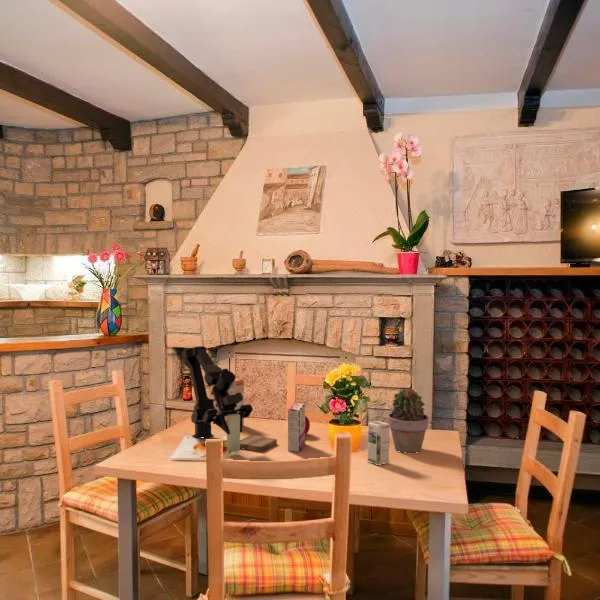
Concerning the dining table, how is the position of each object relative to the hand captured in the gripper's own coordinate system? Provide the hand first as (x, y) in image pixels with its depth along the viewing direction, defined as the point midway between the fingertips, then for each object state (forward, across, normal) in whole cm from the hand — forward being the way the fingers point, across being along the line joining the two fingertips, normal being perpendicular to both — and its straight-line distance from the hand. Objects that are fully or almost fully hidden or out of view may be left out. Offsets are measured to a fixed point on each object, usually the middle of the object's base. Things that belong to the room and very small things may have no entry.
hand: (235, 432), depth 206 cm
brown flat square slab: (+1, +13, +11) cm, 17 cm away
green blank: (+4, 0, +6) cm, 7 cm away
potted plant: (+26, +61, -13) cm, 67 cm away
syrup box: (+30, +40, -18) cm, 54 cm away
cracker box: (-24, +19, +37) cm, 48 cm away
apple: (-2, +36, +14) cm, 39 cm away
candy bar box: (+9, +25, +4) cm, 27 cm away
